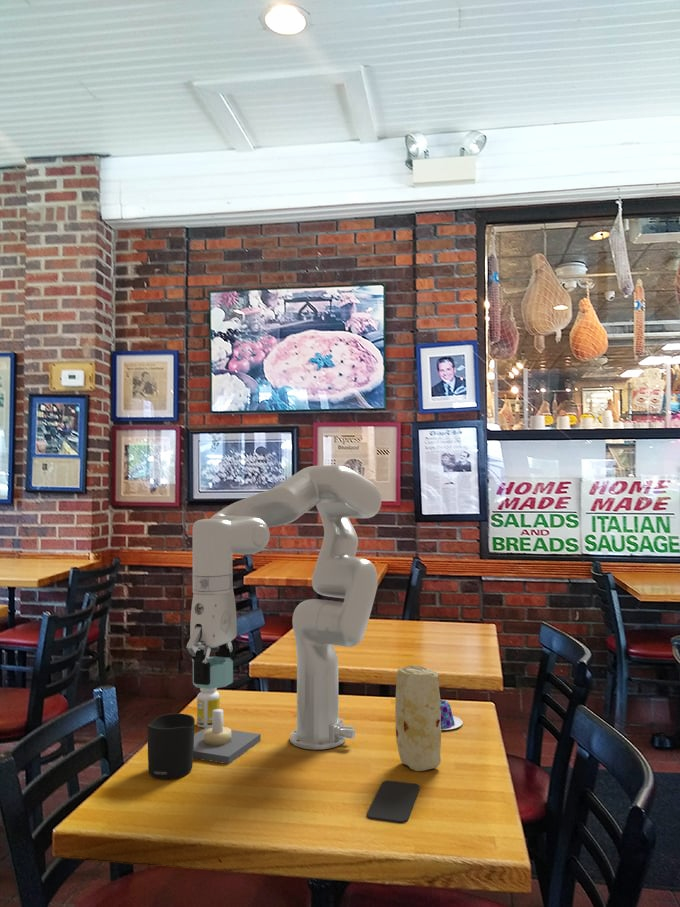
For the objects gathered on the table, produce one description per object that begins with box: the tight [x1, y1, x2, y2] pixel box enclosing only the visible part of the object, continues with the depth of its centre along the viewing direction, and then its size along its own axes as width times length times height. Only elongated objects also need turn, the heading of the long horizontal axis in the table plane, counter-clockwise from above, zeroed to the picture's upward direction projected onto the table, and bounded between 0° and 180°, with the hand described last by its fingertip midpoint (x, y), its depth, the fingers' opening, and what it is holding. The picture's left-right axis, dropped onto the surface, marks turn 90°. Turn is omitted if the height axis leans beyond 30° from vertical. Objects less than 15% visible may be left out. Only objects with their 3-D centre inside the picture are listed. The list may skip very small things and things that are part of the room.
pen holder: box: [146, 712, 196, 780], centre depth 136 cm, size 9×9×10 cm
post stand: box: [193, 708, 262, 765], centre depth 149 cm, size 14×14×8 cm
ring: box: [192, 655, 234, 689], centre depth 127 cm, size 7×7×4 cm
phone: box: [366, 780, 421, 824], centre depth 122 cm, size 7×1×15 cm
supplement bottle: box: [196, 688, 221, 729], centre depth 163 cm, size 5×5×10 cm
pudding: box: [440, 699, 464, 731], centre depth 164 cm, size 12×12×5 cm
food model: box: [394, 665, 442, 772], centre depth 139 cm, size 10×7×20 cm
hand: (213, 677), depth 127 cm, fingers closed on ring, 7 cm apart
